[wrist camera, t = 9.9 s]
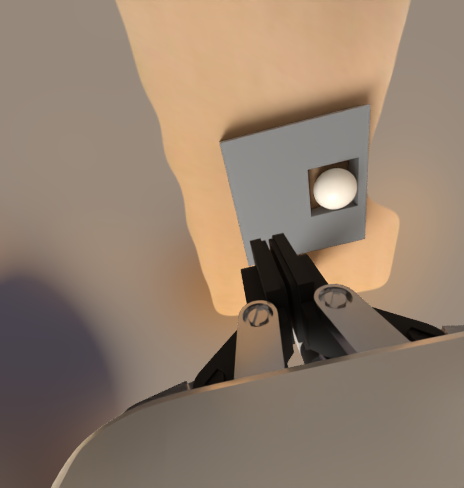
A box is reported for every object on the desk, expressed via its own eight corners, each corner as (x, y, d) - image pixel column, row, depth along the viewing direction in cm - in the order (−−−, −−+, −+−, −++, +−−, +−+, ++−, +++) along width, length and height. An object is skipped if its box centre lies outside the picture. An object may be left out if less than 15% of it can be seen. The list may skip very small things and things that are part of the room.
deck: (219, 141, 34) (219, 143, 31) (357, 105, 33) (370, 104, 30) (246, 257, 43) (248, 265, 41) (355, 231, 42) (364, 238, 40)
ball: (332, 177, 31) (368, 164, 32) (303, 172, 36) (335, 161, 37) (333, 219, 33) (366, 206, 35) (306, 209, 38) (335, 197, 40)
